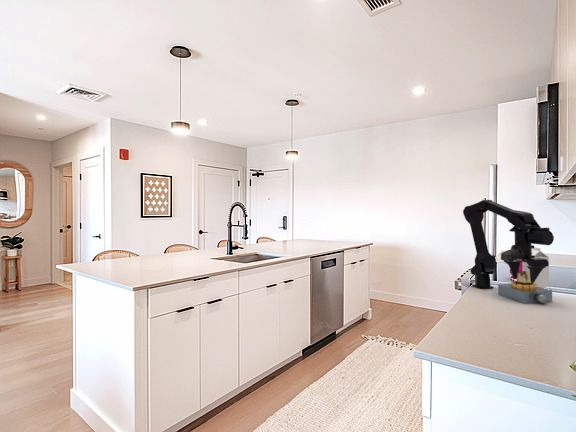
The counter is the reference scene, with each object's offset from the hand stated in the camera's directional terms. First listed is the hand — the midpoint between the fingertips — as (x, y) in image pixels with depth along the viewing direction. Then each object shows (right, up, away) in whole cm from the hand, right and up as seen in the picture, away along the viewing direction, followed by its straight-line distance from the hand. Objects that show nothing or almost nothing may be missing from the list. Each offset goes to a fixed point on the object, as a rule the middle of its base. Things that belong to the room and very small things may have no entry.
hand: (523, 280), depth 136 cm
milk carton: (+15, -7, +13) cm, 21 cm away
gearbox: (0, -8, -1) cm, 8 cm away
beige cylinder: (0, -3, 0) cm, 3 cm away
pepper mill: (+19, -6, +30) cm, 36 cm away
